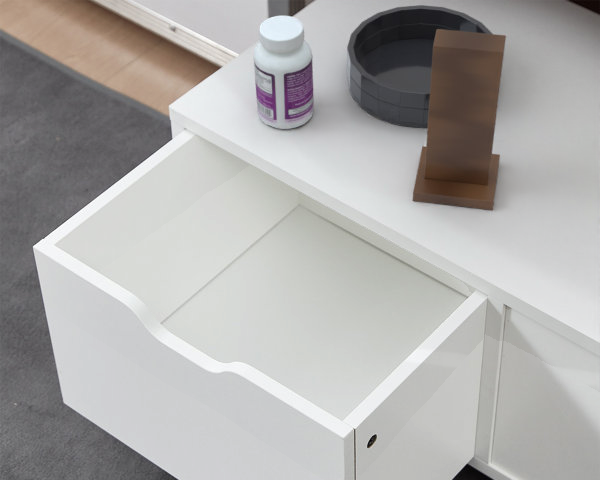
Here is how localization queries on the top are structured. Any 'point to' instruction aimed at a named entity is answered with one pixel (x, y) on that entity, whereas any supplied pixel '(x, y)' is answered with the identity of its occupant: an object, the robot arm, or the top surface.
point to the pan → (399, 60)
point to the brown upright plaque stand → (462, 121)
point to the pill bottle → (283, 73)
